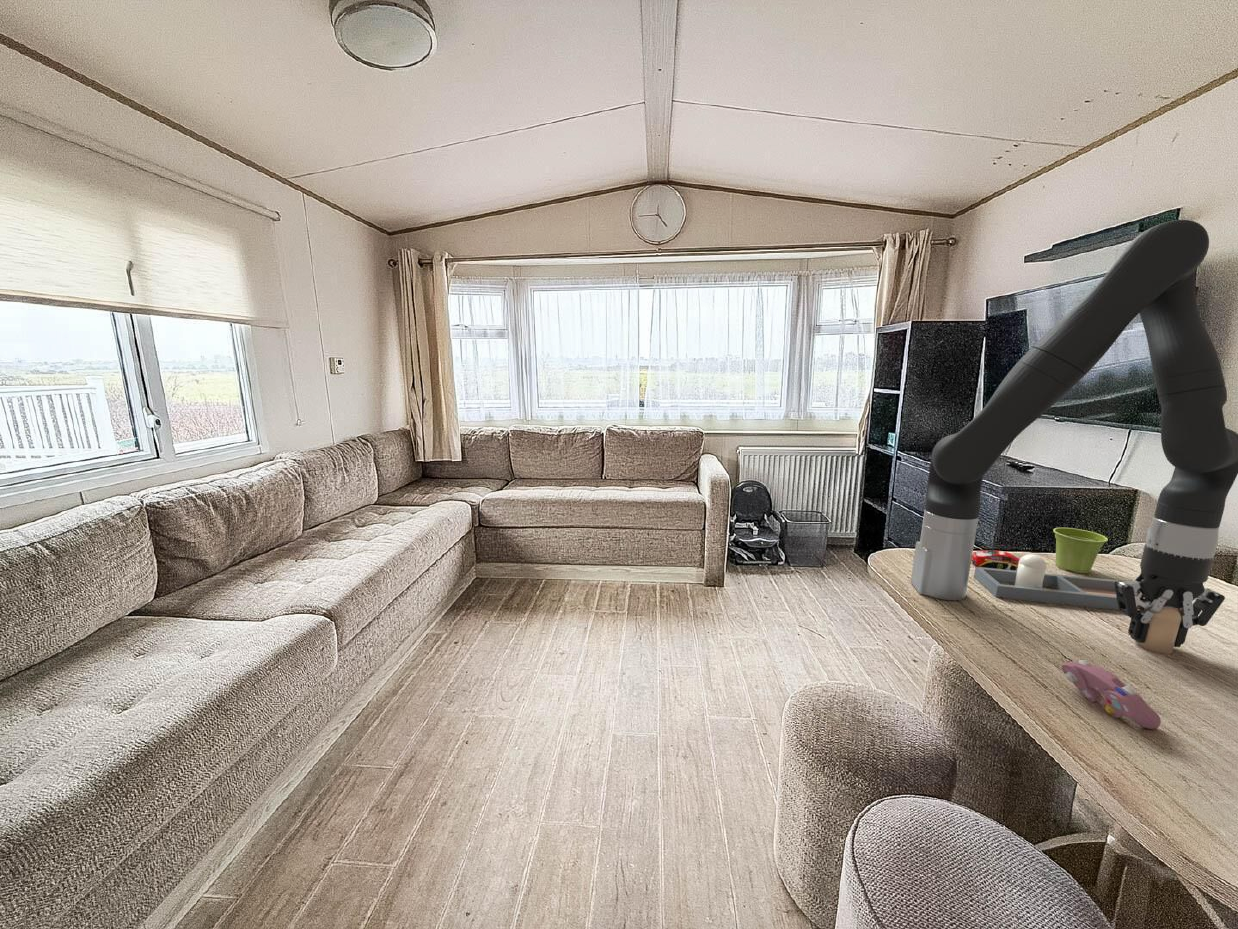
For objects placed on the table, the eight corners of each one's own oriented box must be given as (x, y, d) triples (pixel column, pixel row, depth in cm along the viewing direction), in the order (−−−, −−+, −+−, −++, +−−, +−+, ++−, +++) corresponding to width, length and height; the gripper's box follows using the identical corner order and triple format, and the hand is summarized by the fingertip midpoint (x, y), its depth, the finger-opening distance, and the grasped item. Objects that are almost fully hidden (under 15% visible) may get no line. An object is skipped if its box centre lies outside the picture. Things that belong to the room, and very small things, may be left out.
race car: (1035, 570, 116) (1038, 554, 115) (1043, 579, 111) (1046, 562, 110) (968, 560, 121) (971, 545, 120) (973, 568, 116) (976, 552, 115)
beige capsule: (1147, 651, 82) (1159, 606, 81) (1128, 637, 86) (1138, 594, 85) (1180, 655, 81) (1192, 610, 80) (1158, 641, 85) (1169, 598, 84)
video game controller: (1062, 694, 74) (1051, 657, 72) (1090, 681, 73) (1079, 644, 72) (1135, 744, 64) (1124, 703, 62) (1167, 728, 64) (1157, 687, 62)
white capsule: (1020, 594, 102) (1027, 557, 101) (1009, 585, 107) (1016, 550, 105) (1045, 597, 101) (1052, 560, 100) (1033, 588, 106) (1040, 552, 104)
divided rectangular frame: (995, 597, 101) (997, 585, 101) (973, 577, 111) (975, 566, 110) (1180, 616, 94) (1183, 604, 93) (1140, 593, 103) (1142, 582, 103)
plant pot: (1111, 577, 112) (1120, 541, 110) (1070, 576, 112) (1077, 540, 110) (1074, 561, 121) (1081, 527, 119) (1036, 560, 121) (1042, 527, 119)
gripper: (1143, 551, 78) (1120, 648, 82) (1257, 561, 75) (1227, 661, 78) (1110, 536, 85) (1089, 625, 89) (1212, 544, 82) (1187, 636, 86)
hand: (1154, 642), depth 84 cm, fingers closed on beige capsule, 4 cm apart
